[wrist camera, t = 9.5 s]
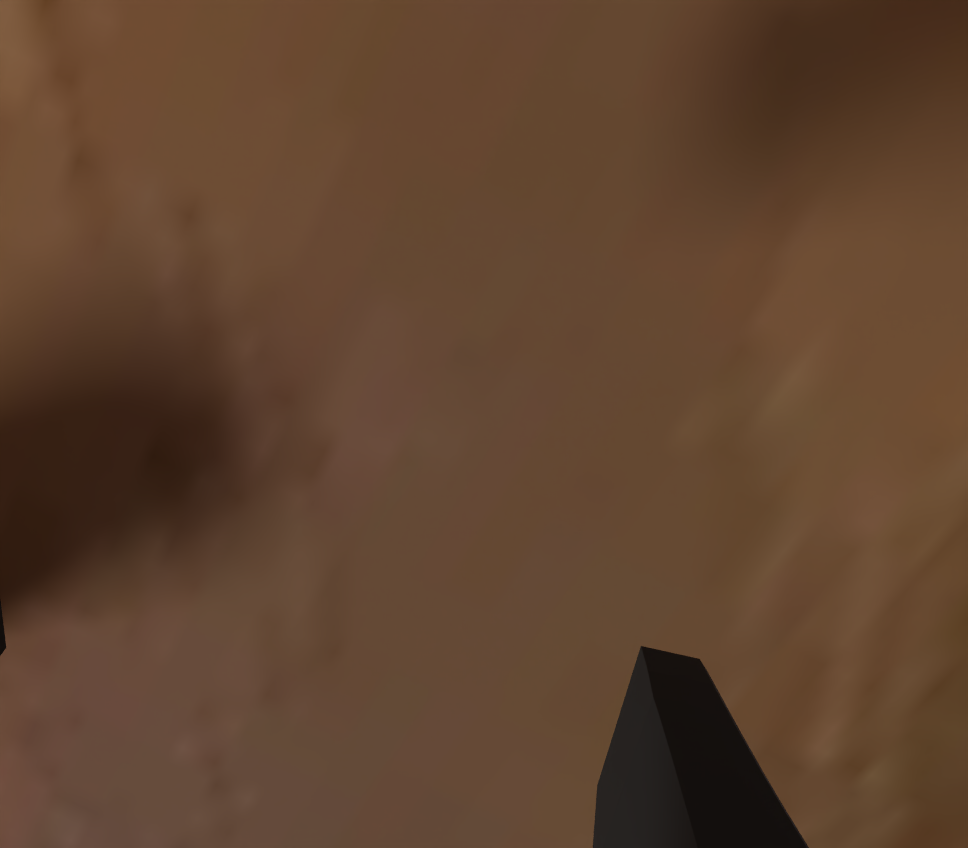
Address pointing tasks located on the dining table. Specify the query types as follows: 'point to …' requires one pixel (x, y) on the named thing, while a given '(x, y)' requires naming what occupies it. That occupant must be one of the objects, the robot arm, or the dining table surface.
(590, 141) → the dining table surface
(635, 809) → the robot arm
